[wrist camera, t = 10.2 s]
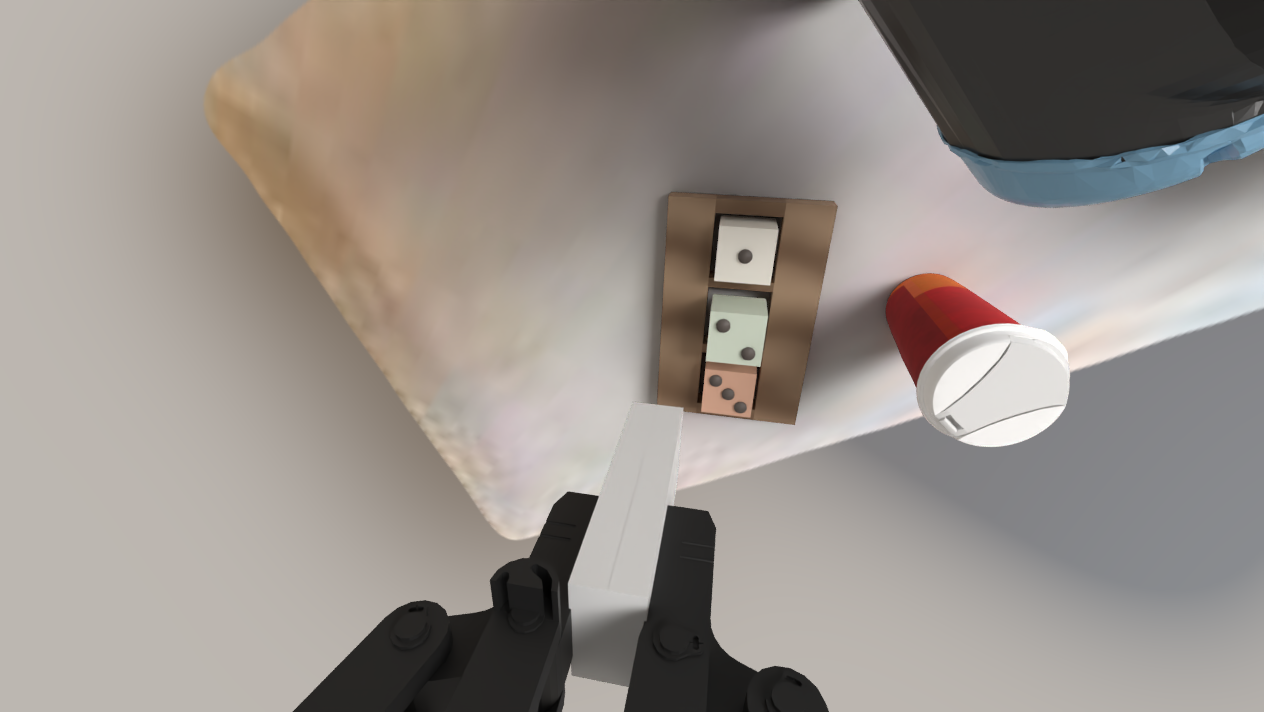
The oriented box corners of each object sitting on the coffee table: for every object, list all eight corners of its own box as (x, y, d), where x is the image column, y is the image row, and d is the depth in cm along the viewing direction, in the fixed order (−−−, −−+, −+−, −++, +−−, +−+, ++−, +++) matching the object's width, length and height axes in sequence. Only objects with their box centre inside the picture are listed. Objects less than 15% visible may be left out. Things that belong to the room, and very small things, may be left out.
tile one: (721, 215, 44) (719, 226, 40) (775, 218, 43) (778, 230, 40) (716, 266, 46) (713, 281, 42) (768, 270, 45) (770, 286, 41)
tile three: (707, 349, 49) (705, 370, 46) (755, 354, 49) (756, 375, 45) (703, 389, 51) (700, 412, 48) (749, 395, 51) (750, 418, 47)
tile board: (671, 191, 44) (668, 195, 42) (833, 201, 42) (837, 205, 40) (659, 397, 53) (656, 408, 51) (792, 413, 51) (794, 424, 49)
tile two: (713, 294, 45) (710, 311, 41) (766, 298, 44) (768, 317, 40) (708, 341, 47) (705, 362, 43) (759, 346, 46) (760, 368, 42)
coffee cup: (909, 368, 47) (975, 475, 34) (850, 304, 45) (894, 391, 32) (1001, 308, 43) (1115, 402, 30) (940, 236, 42) (1031, 302, 29)
